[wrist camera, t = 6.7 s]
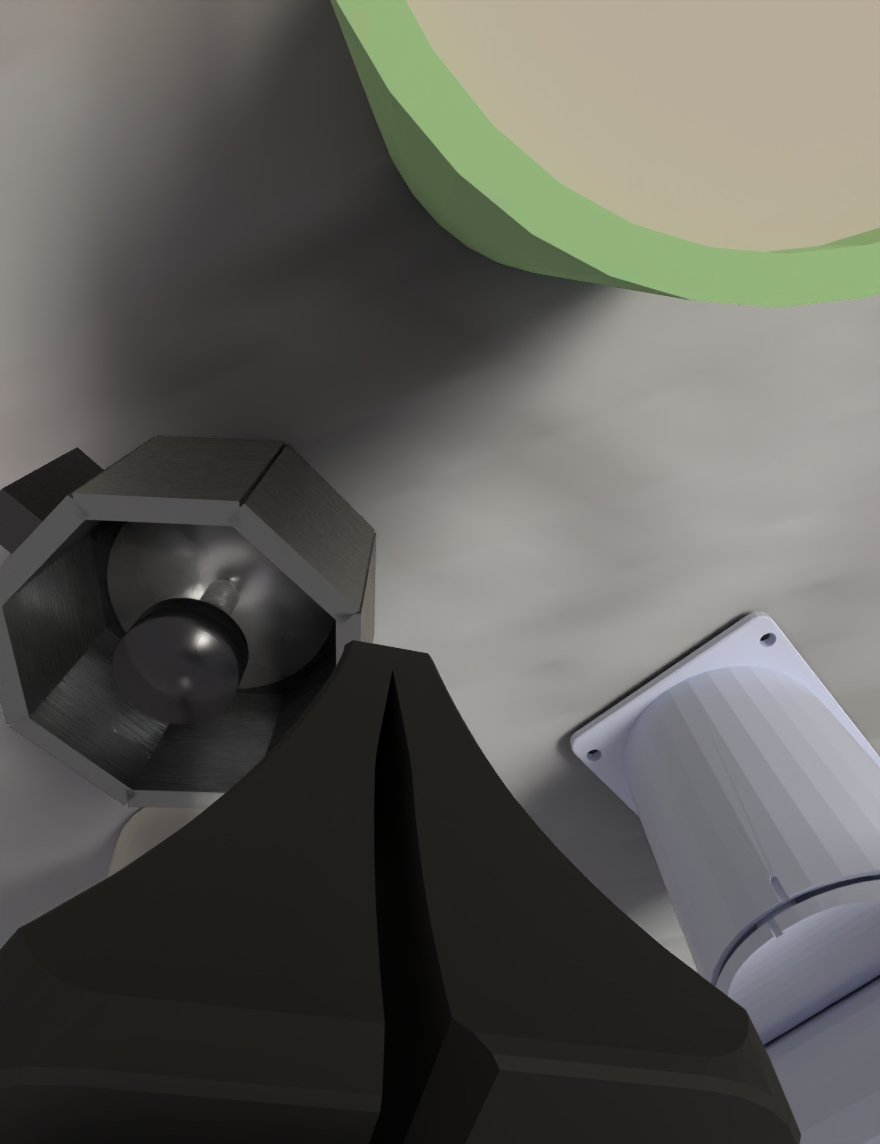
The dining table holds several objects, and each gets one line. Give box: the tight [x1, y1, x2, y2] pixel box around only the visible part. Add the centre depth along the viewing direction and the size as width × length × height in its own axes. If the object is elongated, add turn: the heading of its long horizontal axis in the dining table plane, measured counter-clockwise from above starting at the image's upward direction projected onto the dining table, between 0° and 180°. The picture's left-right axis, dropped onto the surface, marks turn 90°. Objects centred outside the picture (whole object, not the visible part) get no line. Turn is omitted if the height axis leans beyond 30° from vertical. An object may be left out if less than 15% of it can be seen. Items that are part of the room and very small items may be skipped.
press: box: [0, 436, 376, 809], centre depth 19 cm, size 10×9×5 cm
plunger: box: [107, 521, 334, 725], centre depth 19 cm, size 7×7×5 cm
